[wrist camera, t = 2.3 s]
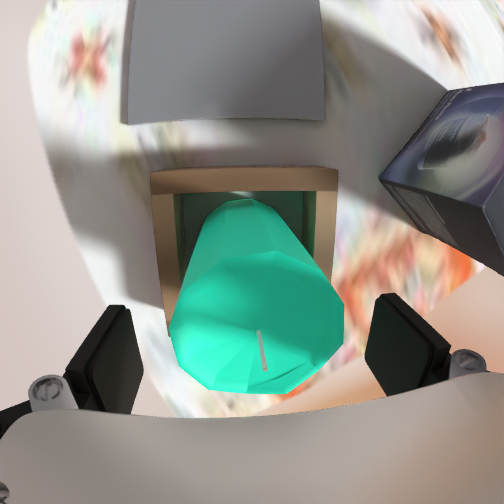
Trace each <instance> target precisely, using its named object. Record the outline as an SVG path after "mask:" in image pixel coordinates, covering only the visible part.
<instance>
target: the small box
mask: <svg viewBox="0 0 504 504" xmlns="http://www.w3.org/2000/svg"><path fill="white" fill-rule="evenodd" d="M379 180H380V182H381V183H382V184H383V185H384V186H385V188H386V189H387V190H388V191H389V192H390V194H391V195H392V196H393V197H394V198H395V199H396V201H397V202H398V203H399V204H400V206H401V207H402V208H403V209H404V211H405V212H406V213H407V214H408V216H409V217H410V218H411V219H412V221H413V222H414V223H415V225H416V226H417V227H418V228H419V230H420V231H421V232H422V233H424V234H428V235H430V236H432V237H434V238H436V239H438V240H440V241H442V242H444V243H446V244H448V245H450V246H451V247H453V248H455V249H457V250H459V251H460V252H462V253H464V254H466V255H468V256H470V257H471V258H473V259H475V260H477V261H478V262H480V263H483V264H484V265H485V266H487V267H489V268H491V269H493V270H494V271H496V272H497V273H498V274H500V275H502V276H504V83H497V84H489V85H481V86H475V87H468V88H461V89H455V90H449V91H448V92H447V93H446V94H445V96H444V97H443V98H442V100H441V101H440V102H439V103H438V105H437V106H436V107H435V109H434V110H433V111H432V112H431V114H430V115H429V116H428V117H427V119H426V120H425V121H424V123H423V124H422V125H421V126H420V128H419V129H418V130H417V131H416V133H415V134H414V135H413V136H412V138H411V139H410V140H409V141H408V142H407V144H406V145H405V146H404V147H403V149H402V150H401V151H400V152H399V153H398V155H397V156H396V157H395V158H394V159H393V161H392V162H391V163H390V164H389V165H388V167H387V168H386V169H385V170H384V171H383V173H382V174H381V175H380V176H379Z"/></svg>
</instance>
